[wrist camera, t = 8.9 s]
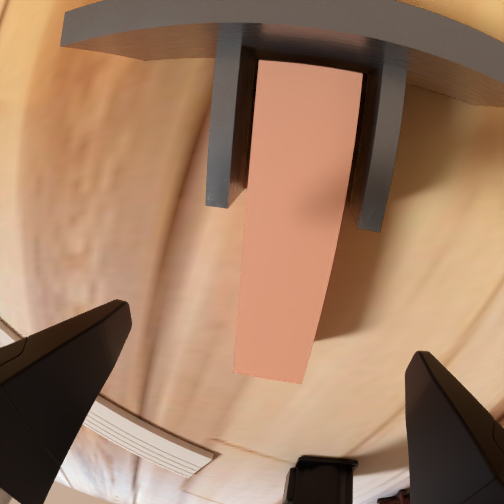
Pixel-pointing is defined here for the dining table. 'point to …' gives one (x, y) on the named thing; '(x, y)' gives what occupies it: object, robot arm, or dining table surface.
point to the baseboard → (136, 432)
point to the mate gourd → (396, 499)
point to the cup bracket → (303, 51)
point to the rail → (292, 212)
